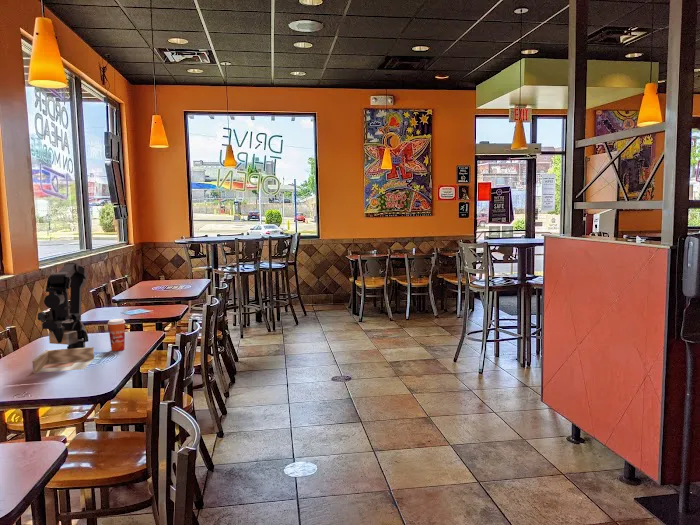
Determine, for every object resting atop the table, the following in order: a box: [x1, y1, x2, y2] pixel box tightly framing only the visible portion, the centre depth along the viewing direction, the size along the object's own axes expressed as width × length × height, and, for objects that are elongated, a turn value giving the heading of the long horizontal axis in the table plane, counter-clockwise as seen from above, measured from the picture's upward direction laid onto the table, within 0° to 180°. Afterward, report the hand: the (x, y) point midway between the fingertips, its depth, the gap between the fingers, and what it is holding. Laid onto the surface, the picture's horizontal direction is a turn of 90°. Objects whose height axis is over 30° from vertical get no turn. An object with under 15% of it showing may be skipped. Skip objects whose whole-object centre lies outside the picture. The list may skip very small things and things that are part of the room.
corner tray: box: [31, 346, 95, 374], centre depth 222 cm, size 19×17×6 cm
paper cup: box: [107, 318, 126, 352], centre depth 248 cm, size 8×8×14 cm
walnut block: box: [48, 331, 78, 346], centre depth 221 cm, size 5×10×5 cm, turn 73°
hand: (63, 341), depth 221 cm, fingers closed on walnut block, 5 cm apart
